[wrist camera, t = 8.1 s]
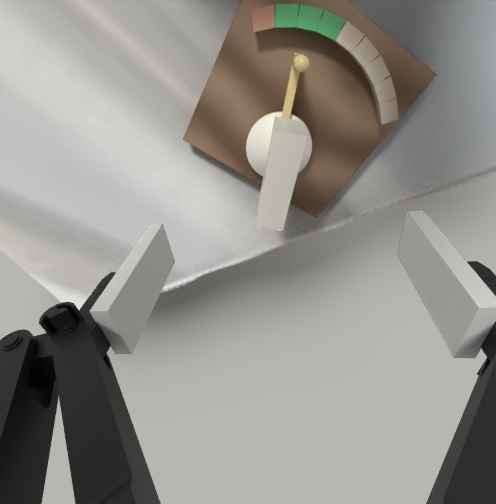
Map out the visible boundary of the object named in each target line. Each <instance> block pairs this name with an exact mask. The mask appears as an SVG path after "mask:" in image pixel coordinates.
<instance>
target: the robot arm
mask: <svg viewBox="0 0 496 504" xmlns="http://www.w3.org/2000/svg"><path fill="white" fill-rule="evenodd" d="M397 255H398V257H399V259H400V261H401V263H402V264H403V266H404V268H405V270H406V272H407V274H408V275H409V277H410V279H411V281H412V283H413V285H414V286H415V288H416V290H417V292H418V294H419V296H420V297H421V299H422V301H423V303H424V305H425V306H426V308H427V310H428V312H429V314H430V316H431V317H432V319H433V321H434V323H435V325H436V327H437V329H438V330H439V332H440V334H441V336H442V338H443V340H444V341H445V343H446V345H447V347H448V349H449V350H450V352H451V354H452V356H453V357H454V358H476V356H477V354H478V353H479V351H480V349H481V348H482V350H483V351H484V353H485V354H486V356H487V359H486V361H485V362H484V364H483V365H482V367H481V368H480V370H479V372H478V373H477V374H478V375H479V376H478V379H477V382H476V384H475V386H474V389H473V391H472V393H471V396H470V399H469V401H468V403H467V406H466V408H465V410H464V413H463V415H462V418H461V420H460V423H459V425H458V428H457V430H456V432H455V435H454V437H453V440H452V442H451V445H450V447H449V450H448V452H447V454H446V457H445V459H444V462H443V464H442V467H441V469H440V471H439V474H438V476H437V479H436V481H435V484H434V486H433V488H432V491H431V493H430V496H429V498H428V501H427V503H426V504H496V276H495V274H494V273H493V272H492V271H491V270H490V269H489V268H487V267H485V266H484V265H482V264H481V263H479V262H477V261H472V262H466V260H465V259H464V258H463V257H462V256H461V254H460V253H459V252H458V251H457V250H456V248H455V247H454V246H453V245H452V244H451V243H450V242H449V240H448V239H447V238H446V237H445V236H444V235H443V233H442V232H441V231H440V229H439V228H438V227H437V226H436V225H435V223H434V222H433V221H432V220H431V219H430V218H429V216H428V215H427V214H426V213H425V212H424V210H418V211H407V214H406V219H405V222H404V226H403V231H402V235H401V239H400V243H399V247H398V252H397ZM174 263H175V260H174V257H173V254H172V251H171V248H170V244H169V241H168V238H167V235H166V232H165V229H164V226H163V223H162V224H150V225H149V226H148V228H147V229H146V231H145V232H144V234H143V235H142V236H141V238H140V239H139V241H138V242H137V244H136V245H135V246H134V248H133V249H132V251H131V252H130V254H129V255H128V256H127V258H126V259H125V261H124V262H123V264H122V265H121V267H120V268H119V269H118V271H117V272H111V273H110V274H108V275H107V276H106V277H105V278H103V279H102V280H101V282H100V283H99V284H98V286H97V287H96V289H95V290H94V291H93V292H92V295H90V296H89V298H88V299H87V301H86V302H85V303H84V305H83V306H82V307H81V309H80V310H78V309H77V307H76V306H75V305H74V303H71V302H63V303H60V304H57V305H55V306H53V307H51V308H49V309H48V310H47V311H46V312H45V313H44V314H43V315H42V316H41V318H40V320H39V324H40V325H41V326H42V327H43V329H44V330H45V331H46V332H47V333H45V334H42V335H38V336H33V335H32V334H31V333H30V332H29V331H28V330H18V331H15V332H13V333H10V334H8V335H7V336H5V337H4V338H2V339H1V340H0V504H41V503H42V496H43V490H44V484H45V478H46V471H47V465H48V459H49V453H50V447H51V440H52V434H53V428H54V422H55V415H56V409H57V403H58V396H59V399H60V406H61V412H62V418H63V425H64V432H65V438H66V445H67V451H68V457H69V464H70V470H71V477H72V484H73V490H74V497H75V503H76V504H160V501H159V498H158V495H157V492H156V489H155V486H154V484H153V481H152V478H151V475H150V473H149V469H148V467H147V464H146V461H145V458H144V455H143V452H142V450H141V447H140V444H139V441H138V438H137V435H136V433H135V430H134V427H133V424H132V421H131V419H130V415H129V413H128V410H127V407H126V404H125V401H124V398H123V396H122V393H121V390H120V387H119V384H118V382H117V378H116V376H115V373H114V370H113V367H112V364H111V362H110V359H109V357H108V355H107V351H108V349H109V348H110V346H111V347H112V349H113V350H114V352H115V354H132V352H133V350H134V348H135V346H136V344H137V342H138V339H139V337H140V335H141V333H142V331H143V329H144V327H145V325H146V322H147V320H148V318H149V316H150V314H151V312H152V310H153V307H154V305H155V303H156V301H157V299H158V297H159V294H160V292H161V290H162V288H163V286H164V284H165V282H166V280H167V277H168V275H169V273H170V271H171V269H172V267H173V265H174Z"/></svg>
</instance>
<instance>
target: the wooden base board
mask: <svg viewBox="0 0 496 504" xmlns="http://www.w3.org/2000/svg"><path fill="white" fill-rule="evenodd" d="M294 53H299V54H304V56H306V57H307V58H308V59H309V67H308V69H307V70H306V71H305V72H300V74H299V78H298V83H297V87H296V92H295V96H294V101H293V105H292V110H291V113H292V114H294V115H296V116H297V117H299V118H300V119H301V120H302V121H303V122H304V123H305V124H306V126H307V128H308V130H309V132H310V135H311V139H312V152H311V156H310V159H309V161H308V163H307V164H306V166H305V167H304V168H303V169H302V170H301V171H300V172H299V173H298V174H297V178H296V182H295V185H294V189H293V193H292V197H291V201H290V203H292V204H293V205H295V206H297V207H299V208H300V209H302V210H304V211H305V212H307V213H309V214H310V215H312V216H314V217H316V218H317V217H318V215H319V214H320V213H321V212H322V211H323V210H324V208H325V207H326V206H327V205H328V204H329V202H330V201H331V200H332V199H333V198H334V196H335V195H336V194H337V193H338V192H339V190H340V189H341V188H342V187H343V186H344V185H345V183H346V182H347V181H348V180H349V179H350V177H351V176H352V175H353V174H354V173H355V171H356V170H357V169H358V168H359V167H360V165H361V164H362V163H363V162H364V161H365V160H366V158H367V157H368V156H369V155H370V154H371V152H372V151H373V150H374V149H375V148H376V146H377V145H378V144H379V143H380V142H381V140H382V139H383V138H384V137H385V136H386V135H387V133H388V132H389V131H390V130H391V129H392V127H393V126H394V125H395V124H396V123H397V121H398V120H399V119H400V118H401V117H402V115H403V114H404V113H405V112H406V111H407V109H408V108H409V107H410V106H411V105H412V104H413V102H414V101H415V100H416V99H417V98H418V96H419V95H420V94H421V93H422V92H423V90H424V89H425V88H426V87H427V86H428V84H429V83H430V82H431V81H432V80H433V79H434V77H435V76H436V75H437V74H436V73H435V72H433V71H432V70H431V69H430V68H429V67H427V66H426V65H425V64H424V63H422V62H421V61H420V60H419V59H418V58H416V57H415V56H414V55H413V54H412V53H410V52H409V51H408V50H407V49H405V48H404V47H403V46H402V45H401V44H399V43H398V42H397V41H396V40H395V39H393V38H392V37H391V36H390V35H389V34H387V33H386V32H385V31H384V30H382V29H381V28H380V27H379V26H378V25H376V24H375V23H374V22H373V21H372V20H370V19H369V18H368V17H367V16H366V15H364V14H363V13H362V12H361V11H359V10H358V9H357V8H356V7H355V6H353V5H352V4H351V3H350V2H349V1H347V0H241V3H240V5H239V7H238V10H237V12H236V14H235V17H234V19H233V22H232V24H231V26H230V29H229V31H228V33H227V36H226V38H225V40H224V43H223V45H222V48H221V50H220V52H219V55H218V57H217V59H216V62H215V64H214V67H213V69H212V71H211V74H210V76H209V78H208V81H207V83H206V86H205V88H204V90H203V93H202V95H201V97H200V100H199V102H198V104H197V107H196V109H195V112H194V114H193V116H192V119H191V121H190V123H189V126H188V128H187V131H186V133H185V135H184V138H183V140H184V141H186V142H188V143H190V144H191V145H193V146H195V147H196V148H198V149H200V150H201V151H203V152H205V153H207V154H208V155H210V156H212V157H213V158H215V159H217V160H219V161H220V162H222V163H224V164H225V165H227V166H229V167H230V168H232V169H234V170H236V171H237V172H239V173H241V174H242V175H244V176H246V177H247V178H249V179H251V180H253V181H254V182H256V183H258V184H259V185H262V180H263V176H261V175H259V174H258V173H257V172H256V171H255V170H254V169H253V168H252V166H251V165H250V163H249V161H248V158H247V154H246V142H247V138H248V135H249V132H250V130H251V128H252V127H253V125H254V124H255V123H256V122H257V121H258V120H259V119H260V118H261V117H263V116H264V115H266V114H268V113H271V112H276V111H283V106H284V102H285V97H286V92H287V87H288V82H289V77H290V72H291V67H292V59H293V56H294Z"/></svg>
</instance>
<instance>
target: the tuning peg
mask: <svg viewBox="0 0 496 504" xmlns="http://www.w3.org/2000/svg"><path fill="white" fill-rule="evenodd" d="M308 67H309V59H308V58H307V57H306V56H304V54H299V53H294V56H293V59H292V67H291V72H290V77H289V82H288V87H287V92H286V97H285V102H284V106H283V111H276V112H271V113H268V114H266V115H264V116H263V117H261V118H260V119H259V120H258V121H257V122H256V123H255V124H254V125H253V127H252V128H251V130H250V132H249V135H248V138H247V142H246V154H247V158H248V161H249V163H250V165H251V166H252V168H253V169H254V170H255V171H256V172H257V173H258V174H259V175H261V176H263V180H262V185H261V191H260V196H259V201H258V209H257V217H256V224H255V227H261V228H266V229H272V230H278V231H283V227H284V223H285V220H286V216H287V212H288V208H289V204H290V201H291V197H292V193H293V189H294V185H295V182H296V178H297V174H298V173H299V172H300V171H301V170H302V169H303V168H304V167H305V166H306V164H307V163H308V161H309V159H310V156H311V152H312V139H311V135H310V132H309V130H308V128H307V126H306V124H305V123H304V122H303V121H302V120H301V119H300V118H299V117H297V116H296V115H294V114H292V113H291V110H292V105H293V101H294V96H295V92H296V87H297V83H298V78H299V74H300V72H305V71H306V70H307V69H308Z"/></svg>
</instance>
